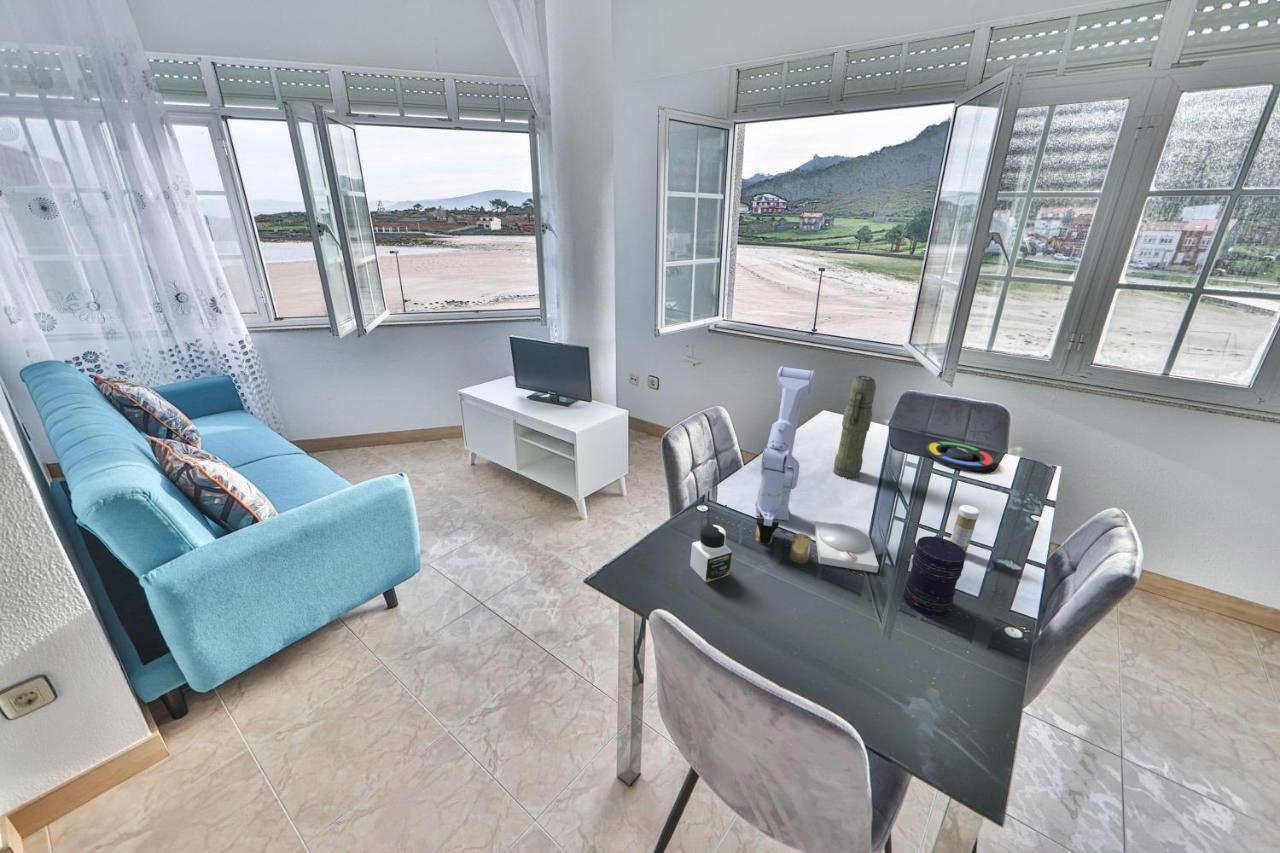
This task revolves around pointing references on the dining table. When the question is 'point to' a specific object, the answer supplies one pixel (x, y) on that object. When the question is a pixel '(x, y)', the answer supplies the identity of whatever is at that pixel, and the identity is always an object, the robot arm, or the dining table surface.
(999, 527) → the dining table surface
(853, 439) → the thermos
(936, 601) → the storage jar
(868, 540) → the kitchen scale
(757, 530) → the cylinder
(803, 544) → the cylinder
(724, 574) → the medicine bottle
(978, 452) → the electronic game
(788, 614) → the dining table surface
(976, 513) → the sprinkles bottle
